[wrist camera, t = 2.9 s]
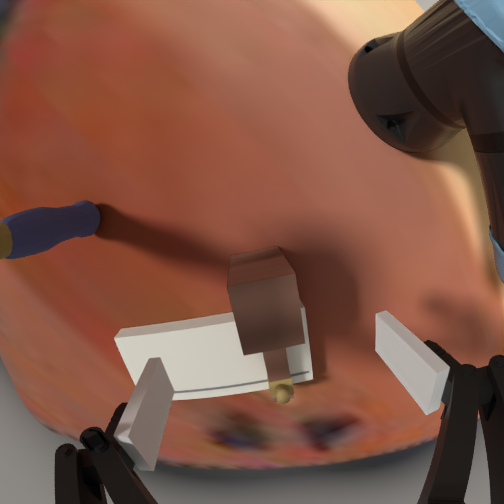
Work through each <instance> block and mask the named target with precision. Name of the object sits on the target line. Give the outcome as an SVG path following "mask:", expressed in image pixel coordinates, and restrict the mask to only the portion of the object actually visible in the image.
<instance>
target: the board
mask: <svg viewBox="0 0 504 504" xmlns="http://www.w3.org/2000/svg"><path fill="white" fill-rule="evenodd" d="M299 301H300V308H301V315H302V322H303V330H304V337H305V344H300V345H296V346H291V347H287V348H286V353H287V359H288V365H289V371H290V374H291V378H292V384H294V383H299V382H303V381H308V380H312V379H313V372H312V363H311V354H310V345H309V337H308V329H307V321H306V314H305V307H304V305H303V303H302V301H301V300H300V299H299ZM114 339H115V342H116V344H117V347H118V349H119V351H120V353H121V356H122V358H123V360H124V362H125V365H126V367H127V369H128V371H129V373H130V375H131V377H132V379H133V381H134V383H135V385H136V384H137V382H138V380H139V378H140V376H141V374H142V372H143V370H144V368H145V365H146V363H147V361H148V359H149V358H156V357H160V358H161V360H162V363H163V365H164V367H165V370H166V372H167V375H168V377H169V379H170V382H171V384H172V386H173V388H174V391H175V392H174V396H173V399H172V400H185V399H197V398H207V397H216V396H225V395H232V394H239V393H246V392H252V391H258V390H264V389H270V388H269V384H268V378H267V371H266V366H265V362H264V357H263V352H262V353H256V354H251V355H245V356H244V355H243V351H242V347H241V343H240V339H239V335H238V331H237V327H236V323H235V319H234V315H233V312H230V313H224V314H219V315H213V316H207V317H201V318H195V319H188V320H182V321H175V322H168V323H161V324H154V325H147V326H139V327H131V328H123V329H121V330H120V331H119V332H118V334H117V335H116V336H115V337H114Z"/></svg>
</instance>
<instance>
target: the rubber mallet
mask: <svg viewBox="0 0 504 504" xmlns="http://www.w3.org/2000/svg"><path fill="white" fill-rule="evenodd" d="M100 219H101V218H100V212H99V210H98V208H97V207H96V206H95V205H94V204H93V203H92V202H90V201H86V200H85V201H80V202H77V203H75V204H74V205H72V206H66V207H60V208H49V207H39V208H34V209H29V210H26V211H23V212H19V213H16V214H13V215H11V216H8V217H6V218H4V219H3V220H1V221H0V259H3V258H7V259H15V258H21V257H25V256H29V255H34V254H37V253H40V252H43V251H46V250H49V249H51V248H52V247H54V246H55V245H57V244H59V243H60V242H62V241H65V240H68V239H71V238H74V237H86V236H90V235H92V234H94V233H95V232H96V230H97V228H98V226H99V224H100Z"/></svg>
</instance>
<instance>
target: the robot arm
mask: <svg viewBox="0 0 504 504" xmlns="http://www.w3.org/2000/svg"><path fill="white" fill-rule="evenodd" d="M348 82H349V89H350V93H351V96H352V99H353V102H354V104H355V107H356V108H357V110H358V112H359V114H360V116H361V117H362V119H363V120H364V121H365V123H366V124H367V125H368V127H369V128H370V129H371V130H372V131H373V132H374V133H375V134H376V135H377V136H378V137H379V138H381V139H382V140H383V141H385V142H386V143H388V144H389V145H391V146H393V147H395V148H397V149H399V150H402V151H406V152H413V153H417V152H425V151H431V150H434V149H437V148H439V147H441V146H442V145H444V144H445V143H446V142H447V141H449V140H450V139H451V138H452V137H453V136H455V135H456V134H457V133H458V132H459V131H461V130H462V129H463V128H467V131H468V134H469V136H470V139H471V142H472V145H473V149H474V153H475V156H476V160H477V163H478V167H479V171H480V175H481V179H482V183H483V188H484V192H485V197H486V202H487V208H488V214H489V220H490V229H489V235H490V239H491V241H492V243H493V250H494V257H495V264H496V269H497V272H498V274H499V276H500V278H501V280H502V282H503V283H504V0H439V1H438V2H437V3H435V4H434V5H433V6H432V7H430V9H428V10H427V11H426V12H424V13H423V14H422V15H421V16H420V17H419V18H417V19H416V20H415V21H414V22H413V23H412V24H410V25H409V26H408V27H407V28H406V29H405V30H403V31H401V32H397V33H393V34H389V35H385V36H381V37H378V38H375V39H372V40H370V41H369V42H367V43H366V44H365V45H363V46H362V47H361V49H360V50H359V51H358V52H357V53H356V54H355V55H354V57H353V59H352V61H351V63H350V66H349V72H348ZM375 351H376V352H377V353H378V354H379V356H380V357H381V358H382V359H383V361H384V362H385V363H386V364H387V366H388V367H389V368H390V369H391V371H392V372H393V373H394V374H395V376H396V377H397V378H398V379H399V381H400V382H401V383H402V384H403V386H404V387H405V388H406V390H407V391H408V392H409V393H410V395H411V396H412V397H413V399H414V400H415V401H416V402H417V404H418V405H419V406H420V408H421V409H422V410H423V411H424V413H425V414H426V415H428V414H430V413H432V412H434V411H436V410H438V409H439V406H440V403H441V401H442V402H443V403H444V404H445V407H444V410H443V413H442V416H441V419H442V421H441V426H440V431H439V435H438V439H437V443H436V448H435V451H434V455H433V459H432V462H431V465H430V469H429V472H428V475H427V478H426V481H425V484H424V487H423V490H422V492H421V495H420V498H419V500H418V503H417V504H465V503H464V497H465V493H466V489H467V484H468V480H469V475H470V470H471V465H472V459H473V453H474V446H475V439H476V429H477V418H478V410H479V415H480V419H481V424H482V429H483V434H484V439H485V446H486V452H487V460H488V468H489V479H490V496H491V504H504V356H503V355H496V356H493V357H492V358H491V359H490V361H489V365H488V366H485V367H481V368H476V367H475V366H473V365H470V364H462V365H461V364H460V363H459V362H458V361H457V360H455V359H454V358H453V357H452V356H451V355H450V354H448V353H446V351H445V350H444V349H442V347H440V346H439V345H438V344H437V343H435V342H432V341H430V340H427V341H425V342H422V341H421V340H420V339H418V338H417V337H416V336H415V335H414V334H413V333H412V332H411V331H409V330H408V329H407V328H406V327H405V326H404V325H403V324H401V323H400V322H399V321H398V320H397V319H396V318H395V317H393V316H392V315H391V314H390V313H389V312H388V311H383V312H379V313H376V343H375ZM174 392H175V391H174V388H173V386H172V384H171V382H170V379H169V377H168V375H167V372H166V370H165V367H164V365H163V363H162V360H161V358H160V357H156V358H149V359H148V361H147V363H146V365H145V368H144V370H143V372H142V374H141V376H140V378H139V380H138V382H137V384H136V387H135V389H134V391H133V393H132V395H131V397H130V399H129V402H128V403H121V404H120V405H119V406H118V407H117V408H116V410H115V412H114V414H113V416H112V418H111V422H109V425H108V427H107V429H106V431H105V433H104V432H103V431H102V429H101V428H98V427H90V428H87V429H86V430H84V431H83V432H82V433H81V435H80V442H81V443H82V444H83V446H84V447H85V448H86V449H79V450H77V449H76V448H75V446H74V445H72V444H69V443H68V444H63V445H61V446H60V447H58V449H57V450H56V453H55V504H107V499H106V495H105V490H104V486H105V488H106V490H107V492H108V494H109V496H110V497H111V499H112V501H113V503H114V504H158V503H157V502H156V500H155V499H154V498H153V496H152V495H151V494H150V492H149V491H148V490H147V488H146V487H145V486H144V484H143V483H142V481H141V480H140V478H139V477H138V475H137V474H136V473H135V471H134V470H133V468H134V464H135V465H136V466H137V467H138V468H139V469H140V470H146V471H154V468H155V464H156V460H157V456H158V452H159V448H160V444H161V440H162V436H163V433H164V429H165V425H166V421H167V417H168V414H169V410H170V406H171V403H172V399H173V396H174Z"/></svg>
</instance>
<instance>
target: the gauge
mask: <svg viewBox="0 0 504 504" xmlns="http://www.w3.org/2000/svg"><path fill="white" fill-rule="evenodd" d="M227 290H228V294H229V299H230V303H231V307H232V311H233V315H234V319H235V323H236V327H237V331H238V335H239V339H240V343H241V347H242V351H243V355H244V356H245V355H251V354H256V353H262V352H263V357H264V362H265V366H266V371H267V378H268V384H269V388H270V393H271V397H272V398H273V402H276V401H278V403H280V404H285V403H287V402H289V401H290V399H291V398H294V396H293V393H294V390H293V384H292V378H291V374H290V371H289V365H288V359H287V353H286V348H287V347H291V346H296V345H300V344H305V337H304V330H303V322H302V315H301V308H300V301H299V294H298V287H297V281H296V274H295V272H294V270H293V269H292V267H291V266H290V264H289V263H288V261H287V260H286V258H285V257H284V255H283V254H282V252H281V251H280V249H279V248H278V246H276V247H271V248H266V249H261V250H256V251H251V252H246V253H241V254H236V255H231V260H230V267H229V274H228V282H227Z"/></svg>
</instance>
